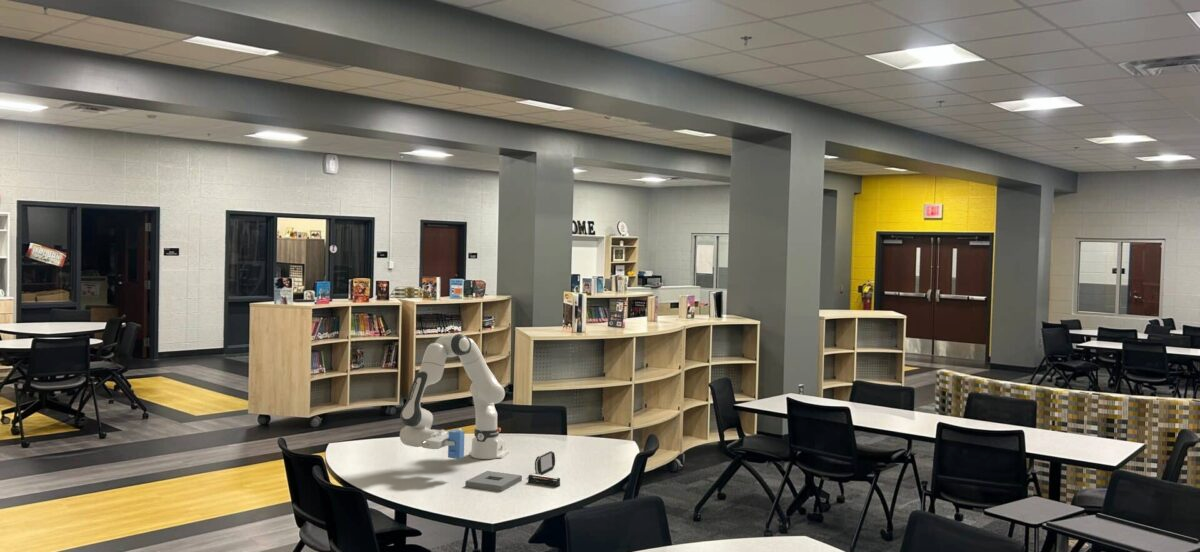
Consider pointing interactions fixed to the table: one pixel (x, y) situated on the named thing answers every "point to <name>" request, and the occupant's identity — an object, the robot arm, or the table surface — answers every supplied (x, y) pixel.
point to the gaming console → (545, 463)
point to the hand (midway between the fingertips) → (458, 442)
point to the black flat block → (544, 480)
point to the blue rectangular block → (457, 449)
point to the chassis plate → (493, 481)
